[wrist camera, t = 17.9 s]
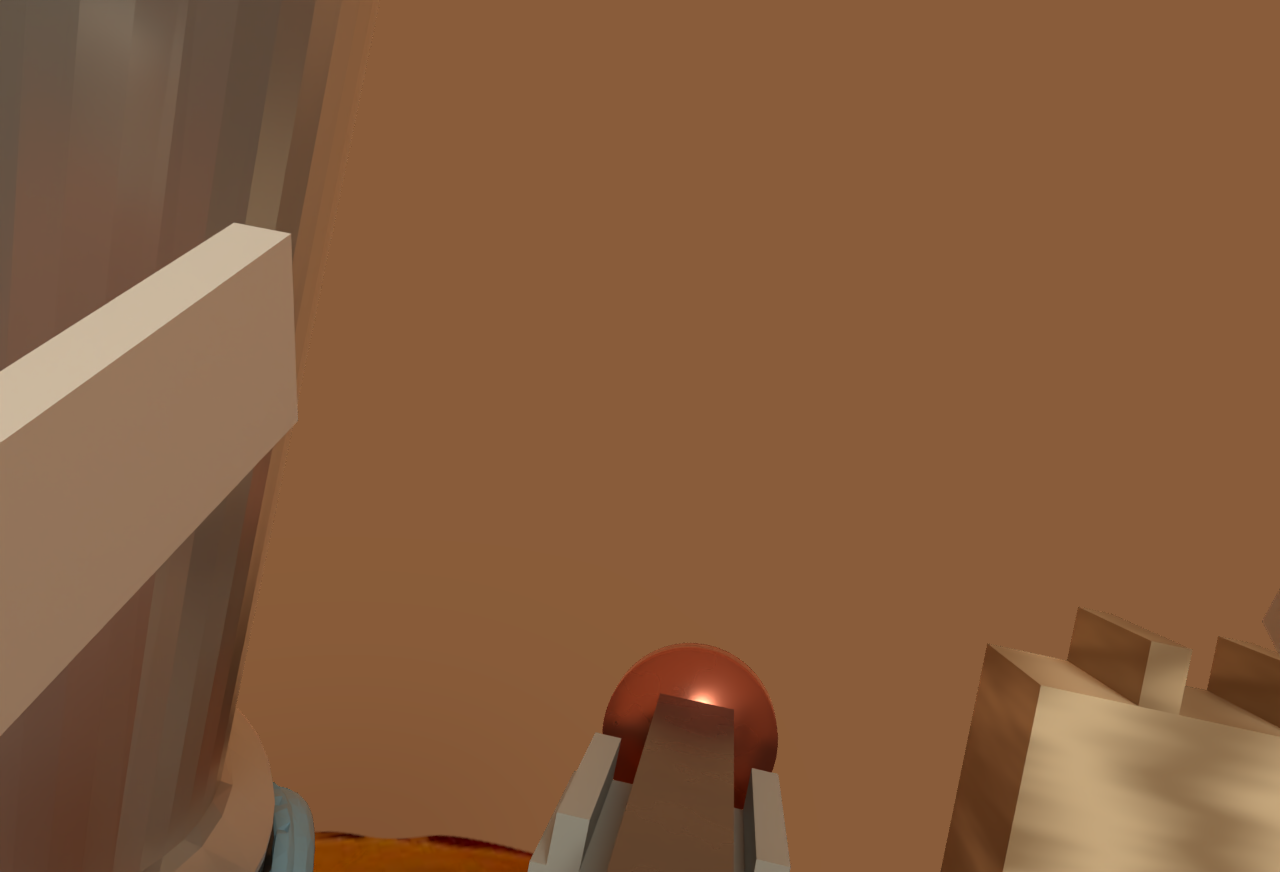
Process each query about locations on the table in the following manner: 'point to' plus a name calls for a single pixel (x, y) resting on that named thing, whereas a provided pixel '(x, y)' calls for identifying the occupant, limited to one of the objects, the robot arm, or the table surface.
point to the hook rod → (687, 756)
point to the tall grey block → (596, 803)
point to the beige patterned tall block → (1120, 759)
